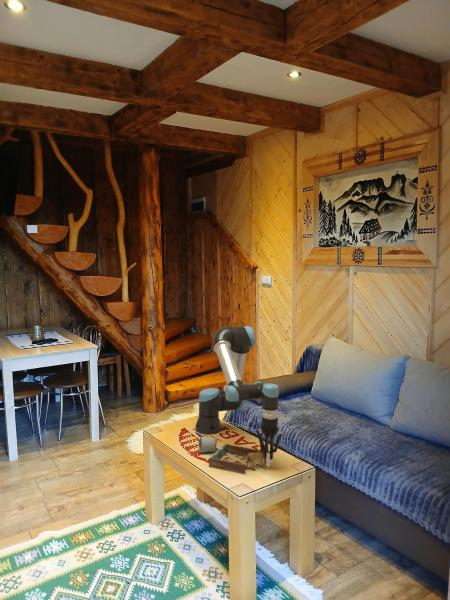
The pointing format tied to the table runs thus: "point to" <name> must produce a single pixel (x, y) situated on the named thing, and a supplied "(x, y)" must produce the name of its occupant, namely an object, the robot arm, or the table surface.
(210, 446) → the ceramic mug
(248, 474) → the table surface
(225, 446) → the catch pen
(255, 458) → the lion figurine
